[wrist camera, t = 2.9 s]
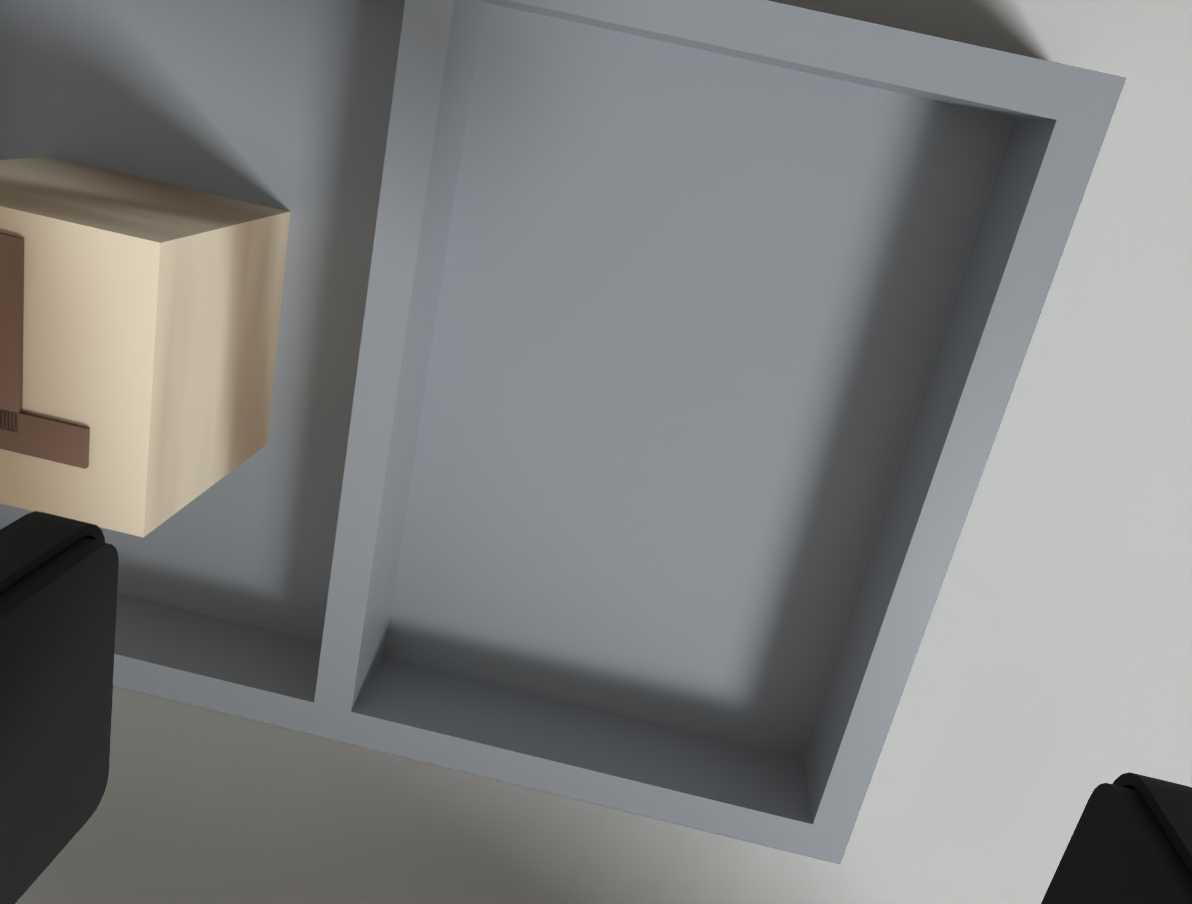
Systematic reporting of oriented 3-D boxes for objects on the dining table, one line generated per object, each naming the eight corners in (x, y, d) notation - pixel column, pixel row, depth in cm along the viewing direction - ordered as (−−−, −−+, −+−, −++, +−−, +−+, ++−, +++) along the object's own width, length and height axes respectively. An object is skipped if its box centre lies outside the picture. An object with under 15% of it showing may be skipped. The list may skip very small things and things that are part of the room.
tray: (1065, 82, 18) (1126, 77, 16) (825, 779, 23) (839, 864, 21) (-88, -168, 19) (-217, -214, 16) (-71, 562, 24) (-166, 617, 22)
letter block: (290, 211, 20) (157, 243, 15) (267, 444, 22) (140, 540, 17) (48, 156, 20) (-159, 171, 15) (44, 391, 22) (-144, 472, 17)
